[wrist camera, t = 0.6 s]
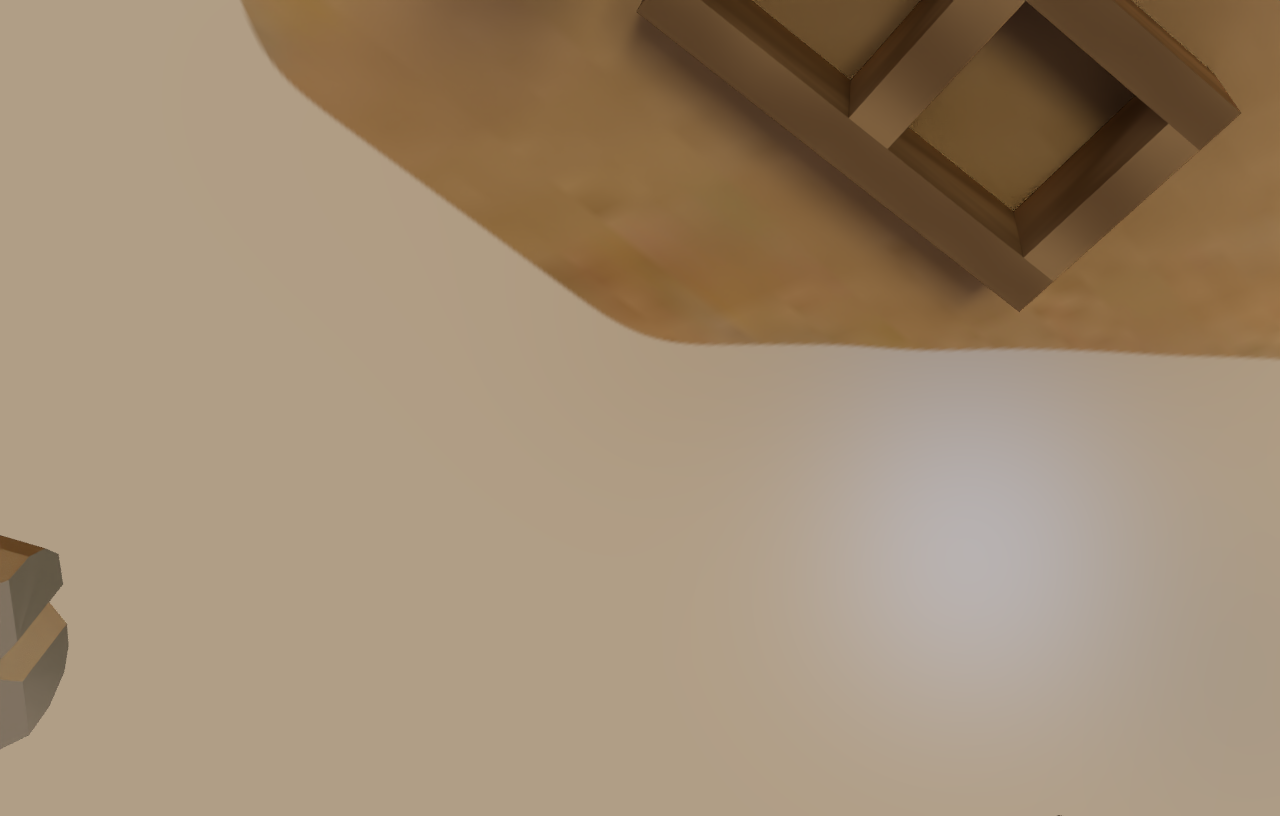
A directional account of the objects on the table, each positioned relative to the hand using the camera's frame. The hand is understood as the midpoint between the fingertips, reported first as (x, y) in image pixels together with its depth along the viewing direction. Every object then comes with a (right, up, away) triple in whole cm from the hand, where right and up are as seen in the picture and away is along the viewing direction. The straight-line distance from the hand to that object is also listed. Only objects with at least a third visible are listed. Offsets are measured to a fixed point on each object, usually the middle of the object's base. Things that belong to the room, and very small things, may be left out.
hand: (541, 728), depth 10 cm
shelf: (+11, +17, +35) cm, 40 cm away
